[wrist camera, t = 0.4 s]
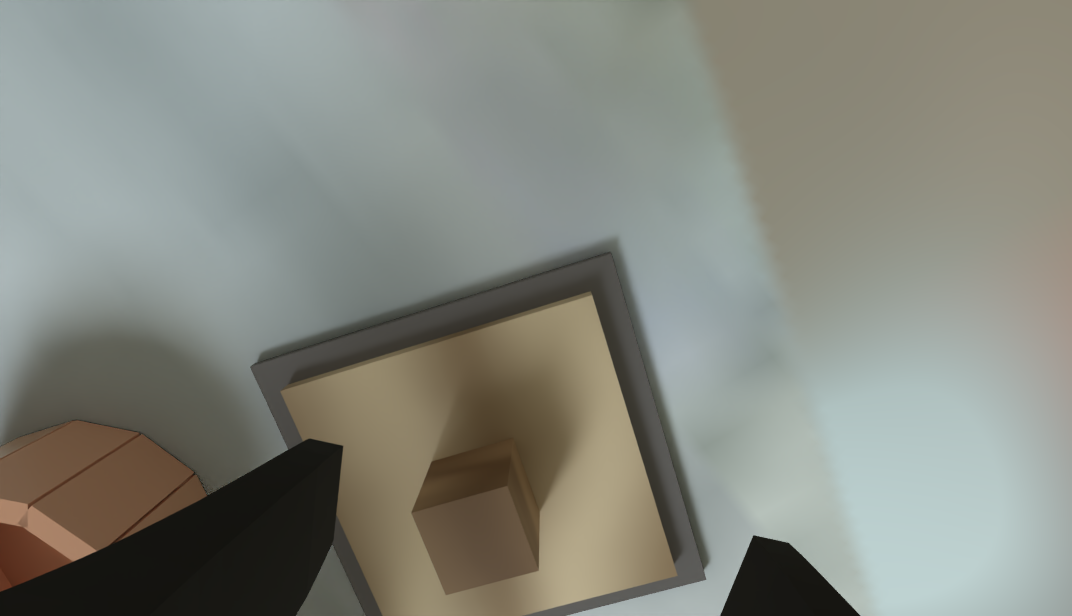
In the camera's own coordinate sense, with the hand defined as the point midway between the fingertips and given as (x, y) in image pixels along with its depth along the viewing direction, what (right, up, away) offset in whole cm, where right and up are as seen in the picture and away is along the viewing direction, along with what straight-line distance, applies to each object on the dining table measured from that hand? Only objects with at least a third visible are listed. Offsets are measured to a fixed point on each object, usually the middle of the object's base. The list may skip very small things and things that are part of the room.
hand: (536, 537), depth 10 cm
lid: (-2, -2, +10) cm, 11 cm away
